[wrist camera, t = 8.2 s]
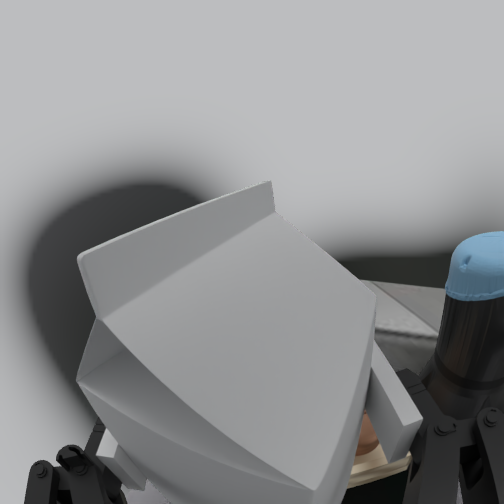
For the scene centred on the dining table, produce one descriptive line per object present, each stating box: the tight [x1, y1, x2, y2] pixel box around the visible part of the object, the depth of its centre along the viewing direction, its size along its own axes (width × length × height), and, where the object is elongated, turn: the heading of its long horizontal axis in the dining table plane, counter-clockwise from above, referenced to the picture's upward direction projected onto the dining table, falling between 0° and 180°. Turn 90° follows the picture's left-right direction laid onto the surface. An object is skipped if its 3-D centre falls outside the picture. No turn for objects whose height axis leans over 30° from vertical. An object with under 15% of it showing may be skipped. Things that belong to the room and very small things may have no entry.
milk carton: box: [76, 181, 377, 504], centre depth 10 cm, size 7×7×19 cm
